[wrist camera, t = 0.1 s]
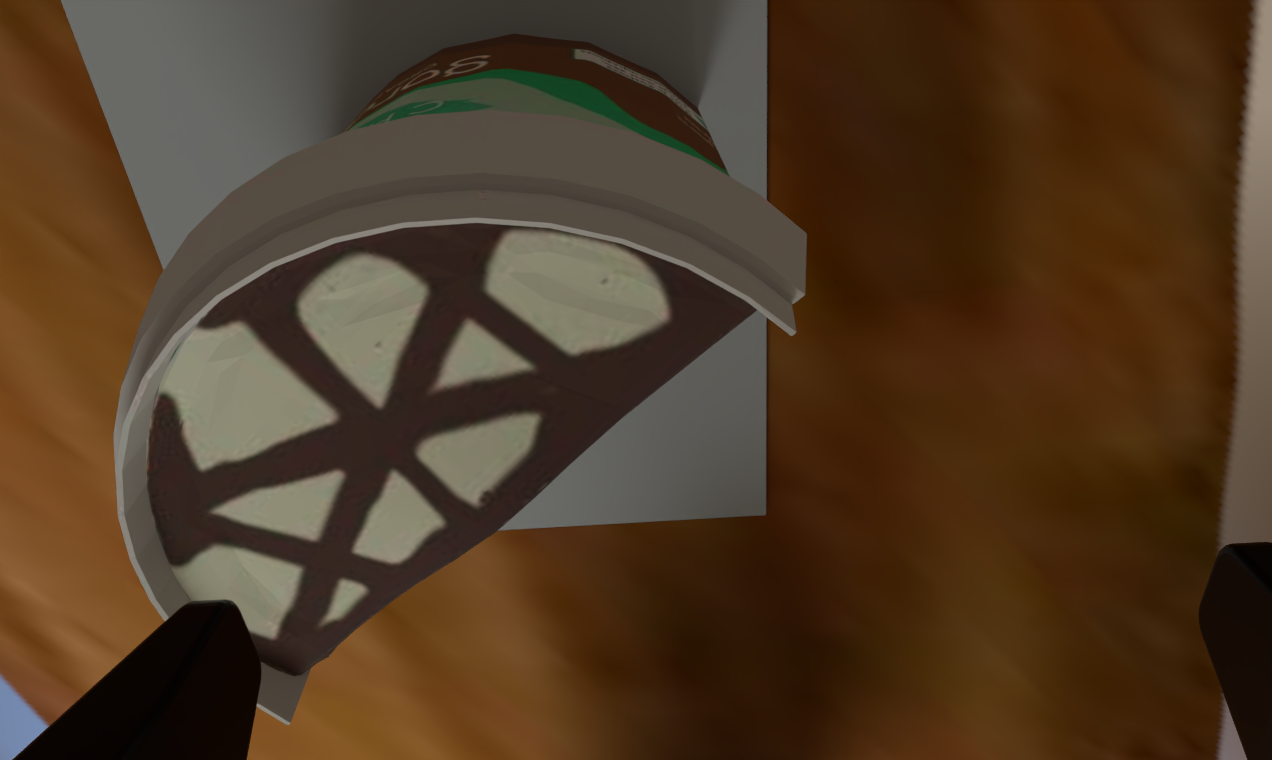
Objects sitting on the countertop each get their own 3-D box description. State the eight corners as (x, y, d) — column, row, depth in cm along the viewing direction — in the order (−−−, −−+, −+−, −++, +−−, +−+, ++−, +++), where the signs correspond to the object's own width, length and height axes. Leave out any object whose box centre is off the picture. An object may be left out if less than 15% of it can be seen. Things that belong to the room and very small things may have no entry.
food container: (528, -184, 18) (447, -67, 10) (751, 58, 21) (830, 307, 13) (168, 246, 23) (-83, 558, 15) (384, 400, 26) (270, 739, 18)
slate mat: (765, 510, 28) (766, 515, 28) (270, 538, 29) (267, 543, 29) (766, -66, 20) (767, -64, 20) (61, -12, 20) (57, -9, 20)
